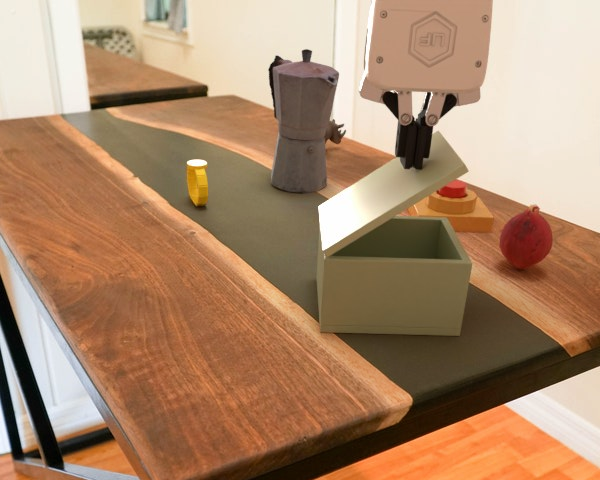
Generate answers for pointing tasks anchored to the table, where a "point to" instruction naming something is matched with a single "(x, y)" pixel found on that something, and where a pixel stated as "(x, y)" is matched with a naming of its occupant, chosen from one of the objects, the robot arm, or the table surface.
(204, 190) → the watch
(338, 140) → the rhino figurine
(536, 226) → the onion
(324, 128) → the moka pot
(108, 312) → the table surface
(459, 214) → the button block
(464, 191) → the button
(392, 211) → the chest lid
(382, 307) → the chest
